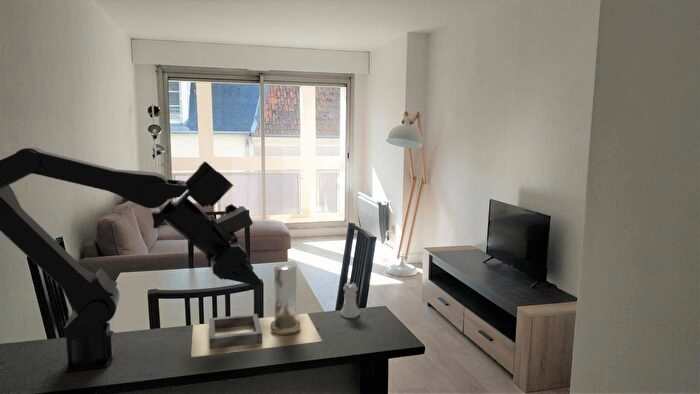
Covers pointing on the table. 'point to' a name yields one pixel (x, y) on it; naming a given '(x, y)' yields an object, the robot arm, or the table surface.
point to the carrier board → (246, 334)
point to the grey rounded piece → (285, 301)
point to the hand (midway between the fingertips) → (255, 276)
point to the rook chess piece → (350, 301)
